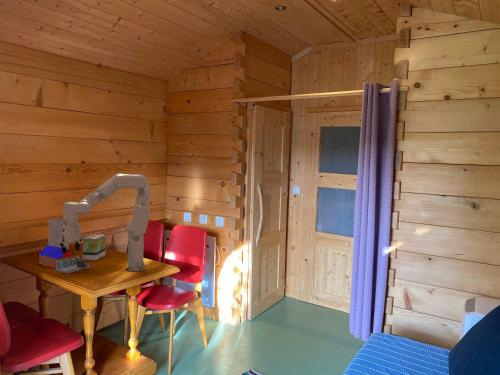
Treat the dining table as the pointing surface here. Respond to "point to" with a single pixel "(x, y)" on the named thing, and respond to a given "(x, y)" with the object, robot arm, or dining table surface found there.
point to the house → (53, 256)
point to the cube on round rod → (81, 263)
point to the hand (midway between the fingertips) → (70, 251)
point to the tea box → (94, 247)
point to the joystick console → (68, 265)
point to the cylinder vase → (55, 232)
